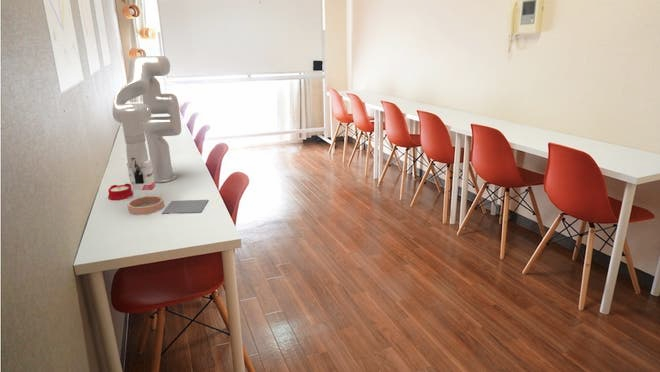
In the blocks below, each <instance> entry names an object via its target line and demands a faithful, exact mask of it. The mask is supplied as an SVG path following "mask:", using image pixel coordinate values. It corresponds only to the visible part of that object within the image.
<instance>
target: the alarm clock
mask: <svg viewBox="0 0 660 372" xmlns="http://www.w3.org/2000/svg"><path fill="white" fill-rule="evenodd" d="M107 190H108V196H107V198H108V200H111V201H121V200H125V199H128V198H131V197H133V195H134V193H133V191H132V190H131V184H130V183H125V184H121V185H119V184H118V185H117V184H113V185H111V186H110V187H109V188H108V189H107Z"/></svg>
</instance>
